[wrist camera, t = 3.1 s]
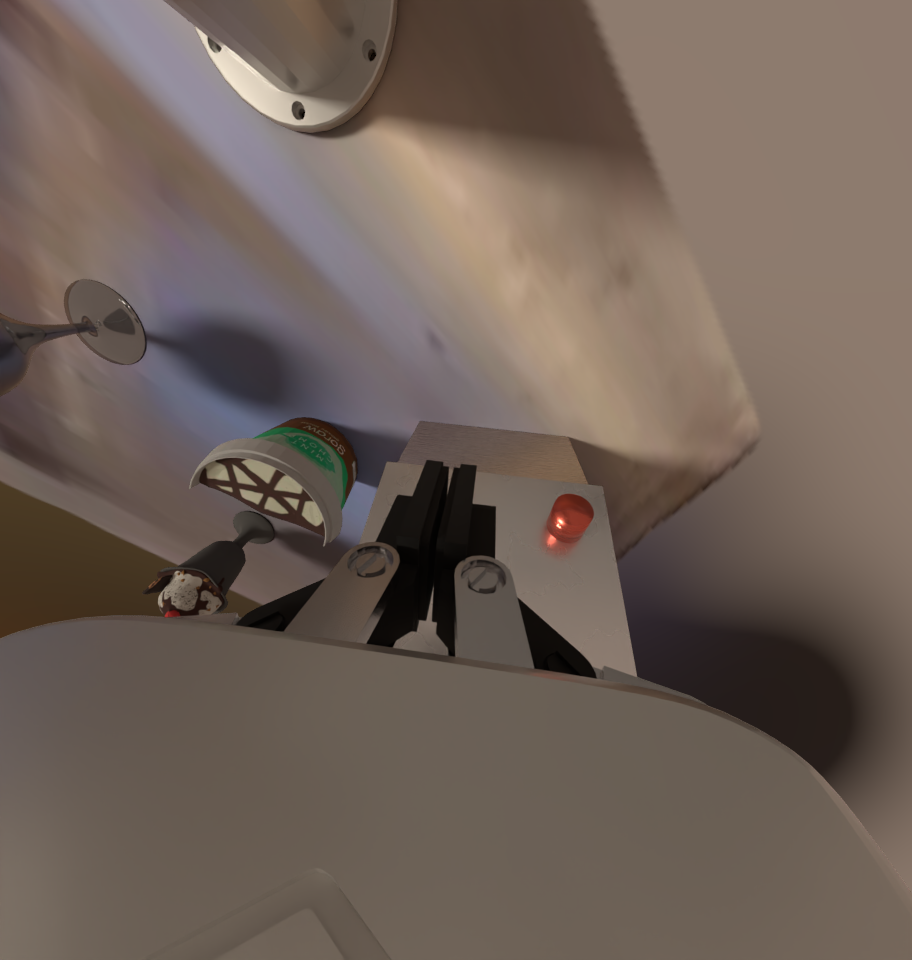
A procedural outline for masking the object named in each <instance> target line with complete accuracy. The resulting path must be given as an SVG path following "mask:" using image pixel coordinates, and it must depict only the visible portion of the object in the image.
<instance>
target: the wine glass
mask: <svg viewBox="0 0 912 960" xmlns="http://www.w3.org/2000/svg"><path fill="white" fill-rule="evenodd" d="M64 307H65V312H66V315H67V318H68V321H69V323H70V324H60V325H40V324H29V323H24V322H21V321H17V320H15V319H12V318H10V317H7V316H5V315H3V314H2V313H0V397H1V396H3V395H5V394H7V393H8V392H10V391H11V390H13V389H14V388H16V387H17V386H18V385H19V384H20V383H21V382H22V380H23V379H24V377H25V375H26V373H27V371H28V368H29V365H30V362H31V359H32V356H33V353H34V352H35V350H36V349H37V348H38V347H39V346H40V345H41V344H43V343H45V342H47V341H50V340H53V339H56V338H60V337H64V336H68V335H72V334H77V336H78V337H79V338H80V340H81V341H82V342H83V343H84V344H85V345H86V346H87V347H88V348H89V349H90V350H92V351H93V352H94V353H95V354H97V355H98V356H100V357H101V358H103V359H105V360H107V361H110V362H112V363H116V364H120V365H129V364H133V363H136V362H137V361H139V360H140V359H141V358H142V356H143V355H144V352H145V347H146V340H145V334H144V330H143V327H142V325H141V322H140V320H139V319H138V317H137V315H136V313H135V312H134V311H133V309H132V308H131V306H130V305H129V304H128V303H127V302H126V301H125V300H124V299H123V298H122V297H121V296H120V295H119V294H118V293H116V292H115V291H114V290H112V289H111V288H109V287H107V286H106V285H104V284H102V283H99V282H97V281H93V280H78V281H75V282H73V283H72V284H71V285H70V286H69V287H68V288H67V290H66V292H65V296H64Z"/></svg>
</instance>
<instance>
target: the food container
mask: <svg viewBox="0 0 912 960" xmlns="http://www.w3.org/2000/svg"><path fill="white" fill-rule="evenodd" d="M357 473H358V468H357V458H356V455H355V453H354V450H353V448H352V446H351V444H350V443H349V442H348V440H347V439H346V438H345V436H344V435H343V434H342V433H341V432H339V431H338V430H337V429H336V428H334V427H333V426H331V425H330V424H328V423H326V422H323V421H321V420H318V419H314V418H306V417H302V418H295V419H291V420H289V421H287V422H285V423H283V424H281V425H279V426H277V427H275V428H272V429H270V430H268V431H266V432H264V433H262V434H260V435H258V436H256V437H254V438H245V439H236V440H231V441H228V442H226V443H223V444H221V445H219V446H218V447H216V448H215V449H214V450H212V451H211V453H210V454H209V455H208V456H207V457H206V458H205V459H204V460H203V461H202V463H201V464H200V465H199V466H198V467H197V469H196V471H195V473H194V475H193V477H192V479H191V482H190V486H189V489H191V488H192V487H194V486H196V485H198V484H200V483H202V484H204V485H206V486H208V487H210V488H214V489H217V490H219V491H221V492H224V493H226V494H228V495H230V496H232V497H234V498H236V499H238V500H240V501H241V502H243V503H245V504H246V505H248V506H250V507H251V508H253V509H255V510H257V511H259V512H261V513H263V514H266V515H269V516H272V517H275V518H278V519H281V520H285V521H288V522H291V523H294V524H297V525H299V526H301V527H304V528H306V529H308V530H311V531H313V532H315V533H317V534H320V535H322V536H324V537H325V541H324V545H323V546H325V545H326V543H327V542H331V541H333V540H334V539H335V538H336V537H337V536H338V535H339V534H340V530H341V527H342V509H343V507H344V504H345V502H346V500H347V498H348V496H349V494H350V491H351V489H352V487H353V485H354V483H355V480H356V477H357Z"/></svg>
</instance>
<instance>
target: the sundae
mask: <svg viewBox="0 0 912 960" xmlns="http://www.w3.org/2000/svg"><path fill="white" fill-rule="evenodd" d="M233 524H234V527H235V529H236V531H237V532H238V534H239V536H238V537H237V538H236V539H235V540H234V541H233V542H232V541H217V542H214V543H212V544H211V545H209V546H207V547H206V548H204V549H202V550H201V551H200V552H198V553H197V554H196V555H194V556H193V557H191V558H190V559H189V560H187V561H186V562H184V563H182V564H181V565H179V566H178V567H168V568H165V569H162V570H161V571H160V572H158V573H157V576H158V580H156V581H154V583H152V584H151V585H150V586H149V587H148V588H147V589H146V590H145V591H143V594H150V593H156V592H160V591H161V592H162V593H161V594H160V596H159V599H158V604H159V608H160V610H161V612H162V613H163V614H164V615H165V617H177V616H193V615H210V614H218V613H219V612H221V611H223V610H224V609H225V608H226V607H227V605H228V601H227V599H226V597H225V595H226V594H227V592H228V590H229V588H230V586H231V585H232V583H233V582H234V580H235V579H236V577H237V576H238V575H239V573H240V571H241V569H242V567H243V566H244V564H245V561H246V560H245V554H244V551H243V549H242V548H243V546H244V545H245V544H246V543H247V542H248V541H249V542H252V543H256V544H265V543H268V542H270V541H271V540H272V538H273V536H274V532H273V528H272V526H271V524H270V523H269V522H268V521H267V520H266V519H265V518H264V517H262V516H261V515H259V514H257V513H254V512H249V511H244V512H240V513H238V514H236V516H235V517H234V520H233Z"/></svg>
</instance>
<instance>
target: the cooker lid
mask: <svg viewBox="0 0 912 960" xmlns="http://www.w3.org/2000/svg"><path fill="white" fill-rule="evenodd" d="M423 468H424V466H422V465H414V464H405V463H396V462H388V461H387V463H386V466H385V469H384V472H383V475H382V477H381V480H380V483H379V486H378V489H377V492H376V495H375V498H374V501H373V504H372V507H371V510H370V513H369V516H368V519H367V522H366V525H365V528H364V531H363V534H362V537H361V540H360V543H359V544H363V543H366V542H375V541H376V539H377V537H378V535H379V533H380V531H381V528H382V526H383V524H384V522H385V520H386V518H387V516H388V513H389V511H390V509H391V507H392V505H393V503H394V501H395V498H396V497H397V495H406V496H413V493H414V490H415V488H416V485H417V483H418V480H419V478H420V475H421V473H422V470H423ZM452 473H453V469H449V477H448V490H449V486H450V481H451V477H452ZM447 494H448V491H447ZM473 504H481V505H489V506H496V542H495V559H497V560H499V561H500V562H502V563H503V564H505V565H506V567H507V568H508V569H509V570H510V572H511V574H512V577H513V581H514V585H515V590H516V594H517V597H518V598H519V599H520V600H521V601H523V602H524V603H525V604H526V605H527V606H528V607H529V608H530V609H532V610H533V611H534V612H535V613H536V614H537V615H538V616H540V617H541V618H542V619H543V620H544V621H545V622H546V623H548V624H549V625H550V626H551V627H552V628H553V629H554V630H555V631H557V632H558V633H559V634H560V635H561V636H562V637H563V638H565V639H566V640H567V641H568V642H569V643H570V644H571V645H572V646H574V647H575V648H576V649H577V650H578V651H579V652H580V653H582V654H583V656H584V657H585V658H586V659H587V660H588V661H589V662H590V664H591V665H592V667H595V668H598V669H601V670H602V668H603V666H607V667H610V668H612V669H615V670H618V671H621V672H624V673H627V674H629V675H632V676H635V677H637V674H636V669H635V663H634V658H633V652H632V646H631V641H630V635H629V630H628V624H627V619H626V614H625V608H624V602H623V597H622V591H621V586H620V580H619V574H618V569H617V563H616V557H615V552H614V546H613V541H612V535H611V530H610V524H609V518H608V513H607V507H606V502H605V496H604V491H603V486H597V485H588V484H579V483H570V482H562V481H553V480H544V479H536V478H527V477H518V476H509V475H501V474H492V473H483V472H476V478H475V486H474V495H473ZM433 589H434V587H433ZM432 606H433V592H432V596H431V601H430V606H429V610H428V615H427V619H426V621H421V620H419V625H418V629H417V632H413V631H411V632H410V633H408V634H406V635H405V636H403V637H401V642H400V646H399V649H405V650H412V651H419V652H426V653H433V654H440V655H446V656H447V647H446V646H445V644H444V643H443V642H442V641H441V640H440V638H439V637H438V636H437V635H436V626H437V623H435V622H432Z"/></svg>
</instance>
